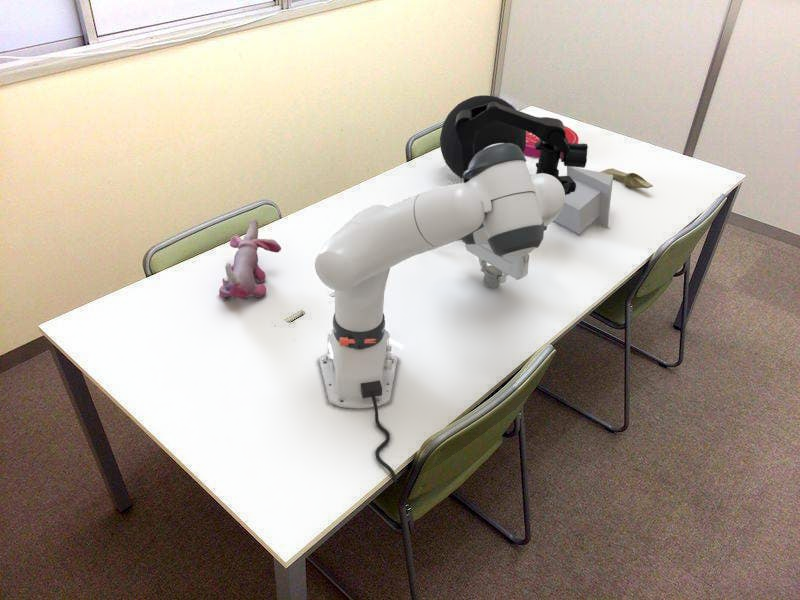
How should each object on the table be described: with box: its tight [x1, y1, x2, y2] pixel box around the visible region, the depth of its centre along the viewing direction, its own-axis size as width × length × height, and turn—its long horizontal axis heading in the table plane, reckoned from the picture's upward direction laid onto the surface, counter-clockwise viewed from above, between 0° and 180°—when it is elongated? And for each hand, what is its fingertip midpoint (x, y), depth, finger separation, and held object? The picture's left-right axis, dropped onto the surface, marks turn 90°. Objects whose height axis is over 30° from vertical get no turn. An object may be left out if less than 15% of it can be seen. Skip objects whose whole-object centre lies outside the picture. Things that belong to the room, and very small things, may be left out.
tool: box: [601, 167, 654, 189], centre depth 240 cm, size 22×6×5 cm, turn 26°
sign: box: [524, 125, 579, 159], centre depth 266 cm, size 30×4×30 cm
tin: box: [482, 264, 502, 289], centre depth 185 cm, size 5×5×4 cm
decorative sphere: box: [439, 94, 526, 180], centre depth 230 cm, size 30×30×30 cm
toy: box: [218, 218, 282, 301], centre depth 179 cm, size 19×24×15 cm
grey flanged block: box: [553, 166, 614, 235], centre depth 214 cm, size 17×24×18 cm
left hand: (492, 276), depth 185 cm, fingers closed on tin, 5 cm apart
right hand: (538, 210), depth 201 cm, fingers open, 9 cm apart
